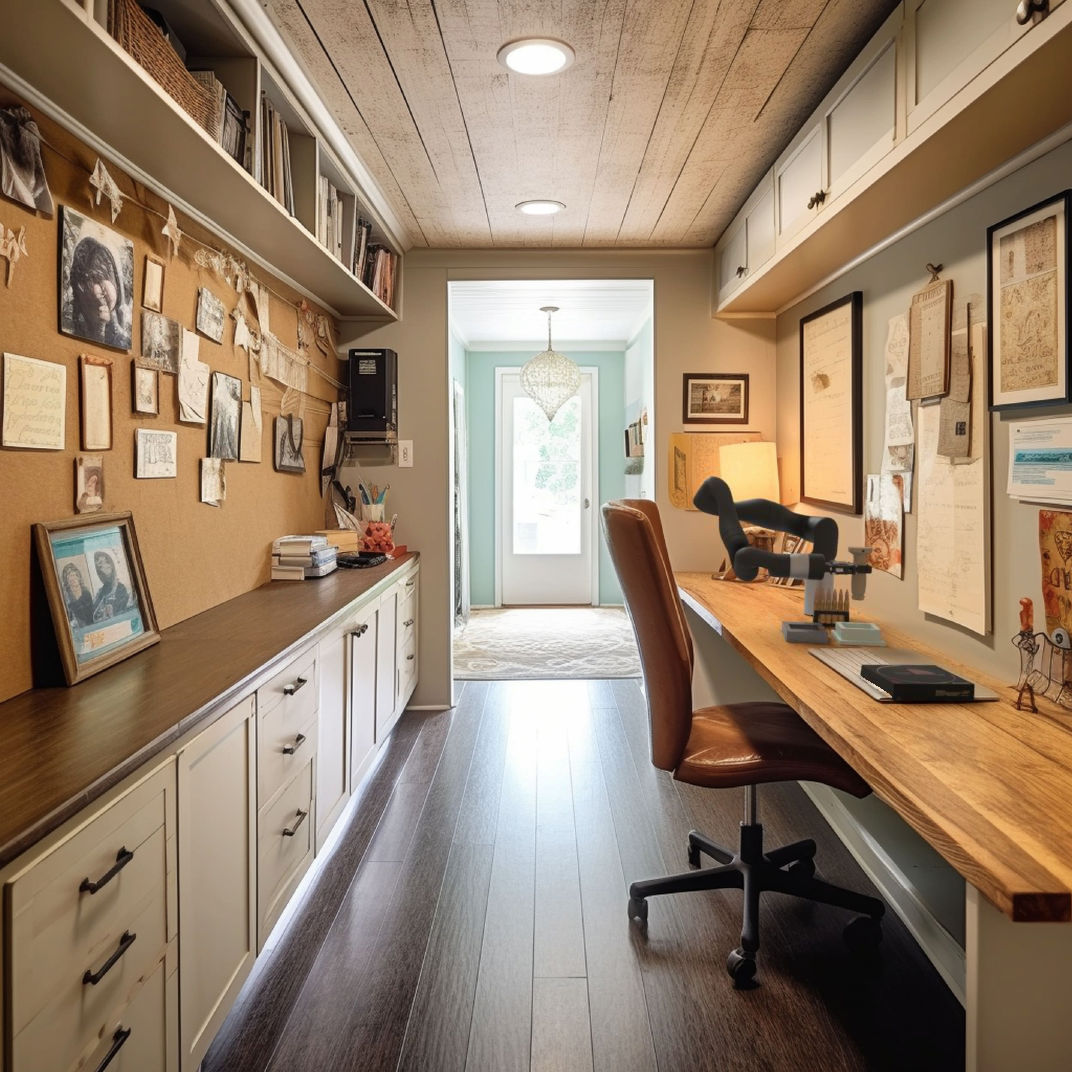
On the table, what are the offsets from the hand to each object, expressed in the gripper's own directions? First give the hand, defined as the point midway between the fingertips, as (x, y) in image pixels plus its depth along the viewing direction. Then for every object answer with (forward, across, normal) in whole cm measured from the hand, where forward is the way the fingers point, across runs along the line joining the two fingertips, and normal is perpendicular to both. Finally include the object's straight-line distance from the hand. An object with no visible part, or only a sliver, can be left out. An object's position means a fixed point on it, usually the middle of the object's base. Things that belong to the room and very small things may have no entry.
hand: (869, 568), depth 215 cm
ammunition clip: (-7, +19, +21) cm, 29 cm away
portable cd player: (0, -53, +21) cm, 57 cm away
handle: (-3, 0, +9) cm, 10 cm away
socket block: (-17, 0, +21) cm, 27 cm away
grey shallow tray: (-2, 0, +20) cm, 21 cm away
